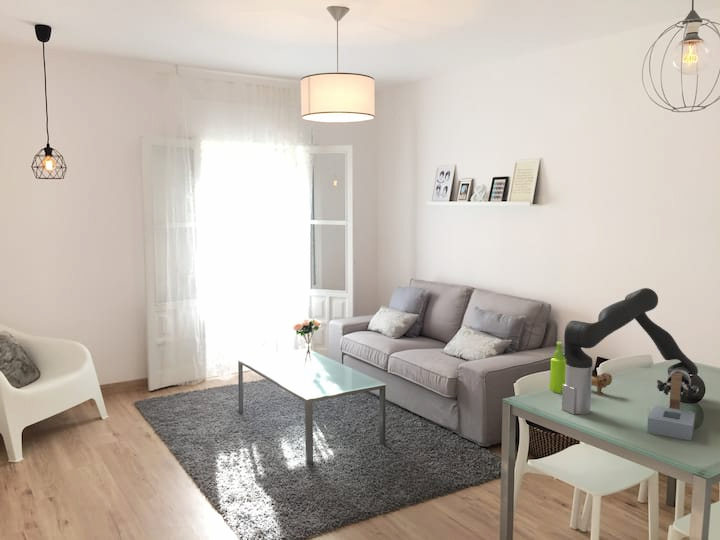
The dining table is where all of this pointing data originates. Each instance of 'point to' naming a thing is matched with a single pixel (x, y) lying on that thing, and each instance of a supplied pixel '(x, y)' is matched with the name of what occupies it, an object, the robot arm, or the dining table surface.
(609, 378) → the lion figurine
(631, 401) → the dining table surface
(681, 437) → the grey slotted block
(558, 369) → the green bottle
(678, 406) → the slat
